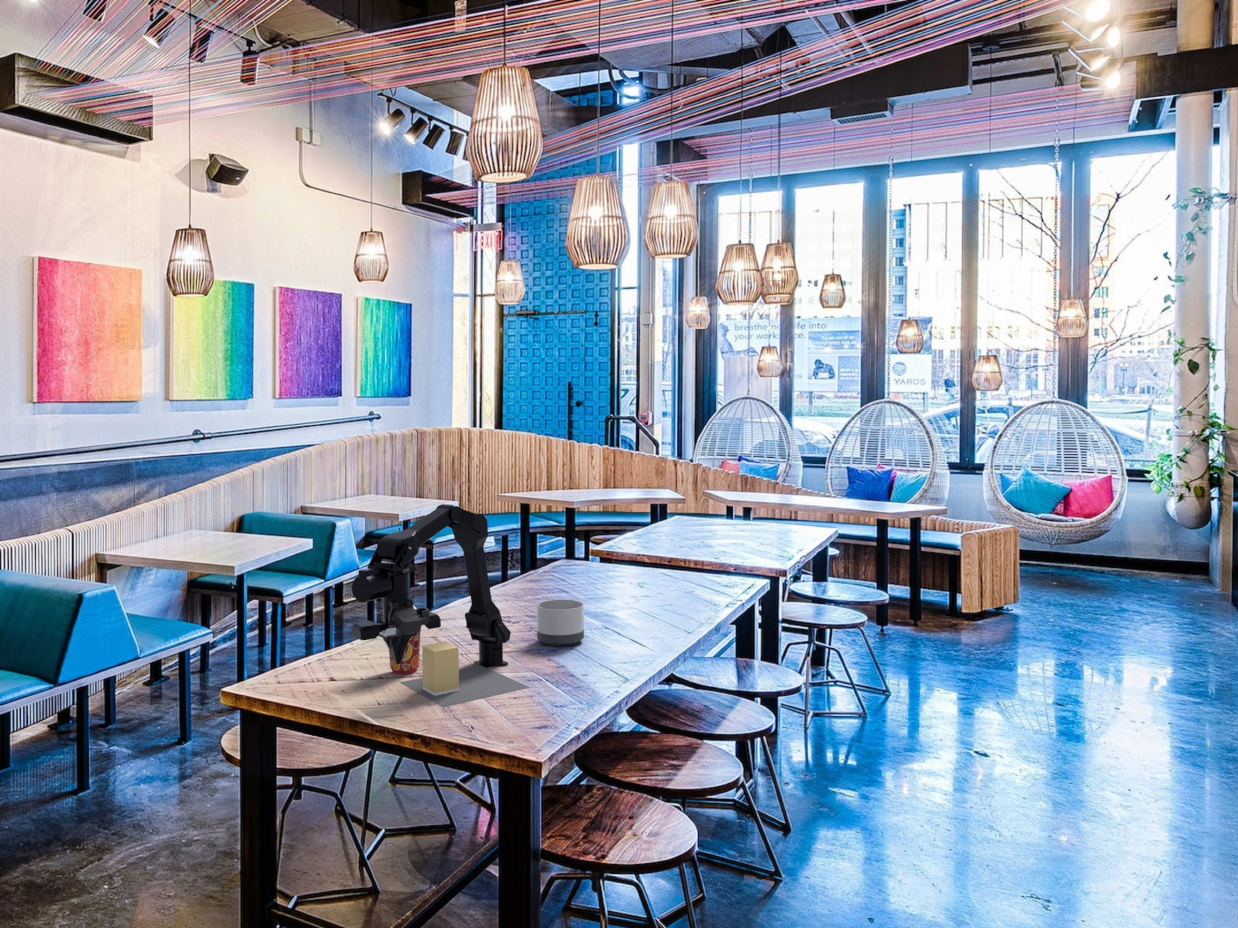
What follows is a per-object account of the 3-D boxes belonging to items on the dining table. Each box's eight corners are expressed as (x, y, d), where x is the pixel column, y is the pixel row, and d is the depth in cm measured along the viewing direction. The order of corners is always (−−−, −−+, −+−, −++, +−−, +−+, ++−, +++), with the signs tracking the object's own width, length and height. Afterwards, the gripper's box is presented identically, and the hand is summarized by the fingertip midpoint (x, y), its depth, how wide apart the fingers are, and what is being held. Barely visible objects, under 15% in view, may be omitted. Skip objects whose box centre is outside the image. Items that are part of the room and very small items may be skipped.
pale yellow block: (422, 688, 212) (422, 645, 211) (446, 683, 216) (446, 641, 215) (434, 695, 207) (434, 651, 207) (459, 690, 211) (458, 647, 210)
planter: (556, 651, 246) (556, 612, 245) (527, 641, 255) (527, 603, 254) (593, 642, 254) (593, 604, 253) (564, 633, 264) (564, 597, 263)
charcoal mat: (399, 684, 217) (399, 682, 217) (482, 667, 231) (482, 665, 231) (443, 709, 200) (443, 706, 200) (530, 689, 213) (530, 687, 213)
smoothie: (384, 669, 229) (383, 589, 227) (418, 665, 232) (417, 586, 230) (390, 679, 221) (388, 596, 219) (425, 675, 224) (424, 593, 223)
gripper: (370, 606, 191) (372, 680, 192) (451, 594, 203) (453, 664, 204) (349, 597, 200) (351, 668, 201) (428, 585, 212) (430, 653, 213)
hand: (397, 663), depth 205 cm, fingers closed
